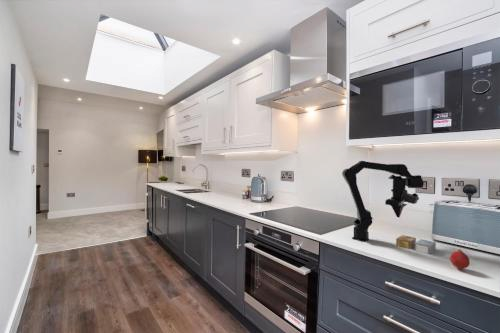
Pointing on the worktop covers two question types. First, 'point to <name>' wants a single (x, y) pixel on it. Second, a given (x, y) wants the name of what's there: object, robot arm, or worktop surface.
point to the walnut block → (405, 241)
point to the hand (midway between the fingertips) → (398, 217)
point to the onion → (459, 260)
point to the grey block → (425, 246)
